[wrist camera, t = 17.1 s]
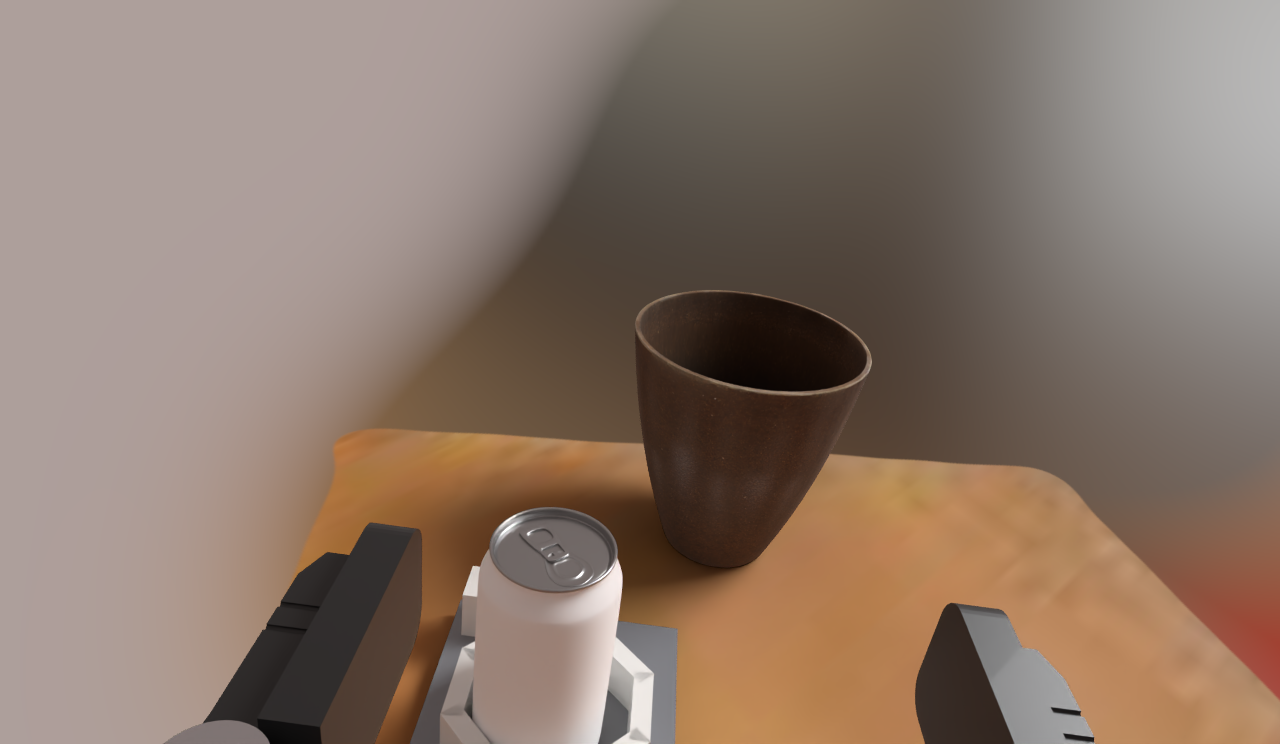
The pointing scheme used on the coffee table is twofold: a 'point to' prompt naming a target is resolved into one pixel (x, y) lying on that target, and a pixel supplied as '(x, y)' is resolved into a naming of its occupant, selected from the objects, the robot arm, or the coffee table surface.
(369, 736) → the robot arm
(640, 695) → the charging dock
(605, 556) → the can
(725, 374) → the plant pot
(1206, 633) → the coffee table surface
